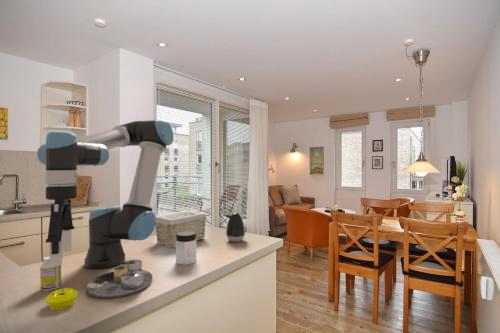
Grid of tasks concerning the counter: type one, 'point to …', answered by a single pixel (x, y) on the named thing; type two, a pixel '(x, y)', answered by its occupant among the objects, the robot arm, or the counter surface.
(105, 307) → the counter surface
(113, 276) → the carrier
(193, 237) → the jar
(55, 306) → the gear
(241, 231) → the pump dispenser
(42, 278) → the supplement bottle
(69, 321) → the counter surface
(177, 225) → the storage basket
